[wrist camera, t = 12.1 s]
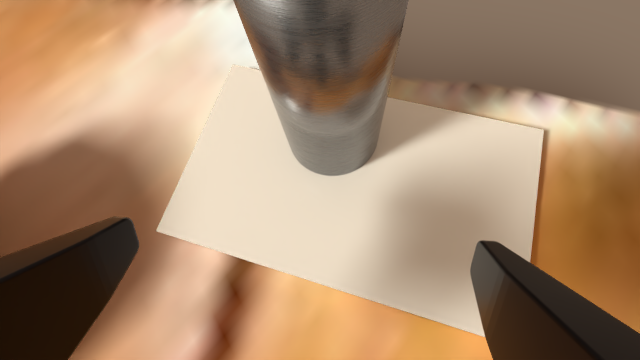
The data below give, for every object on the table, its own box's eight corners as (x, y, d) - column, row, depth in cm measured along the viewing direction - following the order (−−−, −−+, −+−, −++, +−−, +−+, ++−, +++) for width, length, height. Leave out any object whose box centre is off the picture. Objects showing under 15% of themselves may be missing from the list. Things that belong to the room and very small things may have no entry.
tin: (396, 147, 19) (486, -106, 7) (316, 192, 19) (258, 4, 6) (348, 81, 21) (352, -215, 9) (273, 121, 20) (165, -135, 8)
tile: (534, 137, 20) (543, 129, 19) (511, 345, 16) (521, 348, 15) (237, 73, 23) (232, 64, 22) (164, 234, 20) (155, 231, 19)
